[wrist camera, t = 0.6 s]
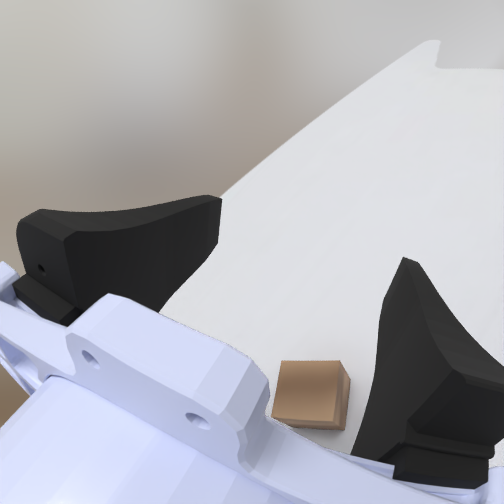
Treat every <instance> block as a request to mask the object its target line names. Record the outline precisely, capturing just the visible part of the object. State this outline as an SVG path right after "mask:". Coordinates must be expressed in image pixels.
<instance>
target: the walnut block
mask: <svg viewBox="0 0 504 504" xmlns="http://www.w3.org/2000/svg"><path fill="white" fill-rule="evenodd" d="M349 389H350V378H349V376H348V374H347V372H346V371H345V369H344V367H343V365H342V364H341V362H340V360H339V361H281V366H280V372H279V377H278V383H277V388H276V393H275V399H274V404H273V409H272V414H271V417H272V418H274V419H276V420H278V421H280V422H282V423H285V424H287V425H289V426H291V427H297V428H311V429H329V430H345V423H346V415H347V407H348V398H349Z"/></svg>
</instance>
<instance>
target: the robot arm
mask: <svg viewBox="0 0 504 504" xmlns="http://www.w3.org/2000/svg"><path fill="white" fill-rule="evenodd" d="M221 206H222V199H221V198H217V197H214V196H210V195H201V196H196V197H190V198H185V199H181V200H176V201H172V202H168V203H163V204H158V205H153V206H148V207H142V208H136V209H129V210H120V211H105V212H68V211H57V210H47V209H39V210H37V211H35V212H33V213H31V214H30V215H28V216H26V217H24V218H23V219H21V220H20V221H19V223H18V225H17V230H16V236H17V242H18V247H19V251H20V254H21V258H22V261H23V264H24V268H25V271H26V274H25V275H23V276H22V277H21V278H20V276H19V275H18V273H17V272H16V271H15V270H14V269H13V268H12V267H10V266H9V265H8V264H7V263H5V262H3V261H2V262H1V263H0V363H1V365H2V366H3V367H4V368H5V369H6V370H7V371H8V373H9V374H10V375H11V376H12V377H13V378H14V379H15V380H16V382H17V383H18V384H19V385H20V386H21V387H22V388H23V389H24V390H25V391H26V392H27V393H28V394H29V396H30V397H29V399H28V400H27V401H26V402H25V403H24V404H23V405H22V406H21V407H20V408H19V409H18V410H17V411H16V412H15V413H14V414H13V415H12V417H11V418H10V419H9V420H8V421H7V422H6V423H5V424H4V425H3V426H2V427H1V428H0V504H504V466H495V467H492V468H489V459H491V458H493V457H494V455H495V449H494V445H496V444H497V443H498V442H499V441H501V440H502V439H503V438H504V366H502V365H501V364H500V363H499V362H498V361H497V360H496V359H494V358H493V357H492V356H491V355H490V354H489V353H488V352H487V351H486V350H484V349H483V348H482V347H481V346H480V344H479V343H478V342H477V341H476V340H475V339H474V338H473V337H472V336H471V335H470V334H469V333H468V332H467V331H466V329H465V328H464V327H463V326H462V325H461V323H460V322H459V321H458V320H457V319H456V317H455V316H454V315H453V313H452V312H451V311H450V309H449V308H448V306H447V305H446V303H445V302H444V301H443V299H442V298H441V296H440V295H439V293H438V292H437V290H436V289H435V287H434V285H433V284H432V282H431V281H430V279H429V278H428V276H427V274H426V273H425V271H424V270H423V268H422V267H421V266H420V264H419V263H418V262H416V261H413V260H410V259H408V258H405V257H403V258H402V260H401V263H400V265H399V267H398V269H397V272H396V274H395V276H394V278H393V280H392V283H391V285H390V287H389V289H388V291H387V293H386V295H385V297H384V300H383V304H382V309H381V314H380V320H379V330H378V342H377V354H376V365H375V373H374V379H373V383H372V387H371V391H370V395H369V399H368V403H367V406H366V410H365V413H364V417H363V420H362V423H361V426H360V429H359V432H358V435H357V438H356V441H355V443H354V446H353V449H352V451H351V454H350V455H349V454H345V453H341V452H338V451H334V450H331V449H328V448H324V447H322V446H320V445H318V444H316V443H314V442H312V441H310V440H308V439H306V438H305V437H303V436H301V435H299V434H297V433H295V432H294V431H292V430H290V429H288V428H286V427H285V426H283V425H281V424H279V423H278V422H276V421H274V420H273V419H271V418H269V417H267V416H266V415H265V409H266V406H267V403H268V401H269V398H270V390H269V382H268V378H267V377H266V376H265V374H264V373H263V372H262V371H261V370H260V368H259V367H258V366H257V365H256V364H255V362H254V361H253V360H252V359H251V358H250V357H248V356H247V355H245V354H243V353H242V352H240V351H238V350H237V349H235V348H234V347H232V346H230V345H229V344H227V343H224V342H222V341H219V340H217V339H215V338H212V337H210V336H208V335H205V334H203V333H201V332H199V331H196V330H194V329H192V328H190V327H187V326H185V325H183V324H181V323H179V322H176V321H174V320H172V319H170V318H168V317H166V316H164V315H162V314H159V311H160V310H161V309H162V307H163V306H164V305H165V303H166V302H167V301H168V300H169V298H170V297H171V296H172V295H173V294H174V293H175V292H176V291H177V290H178V289H179V288H180V287H181V286H182V285H183V283H184V282H185V281H186V280H187V279H188V278H189V277H190V276H191V275H192V274H193V273H194V272H195V271H196V270H197V269H198V268H199V267H200V266H201V265H202V264H203V263H204V262H205V261H206V259H207V258H208V256H209V255H210V254H211V252H212V251H213V249H214V248H215V246H216V245H217V244H218V236H219V226H220V216H221Z"/></svg>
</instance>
